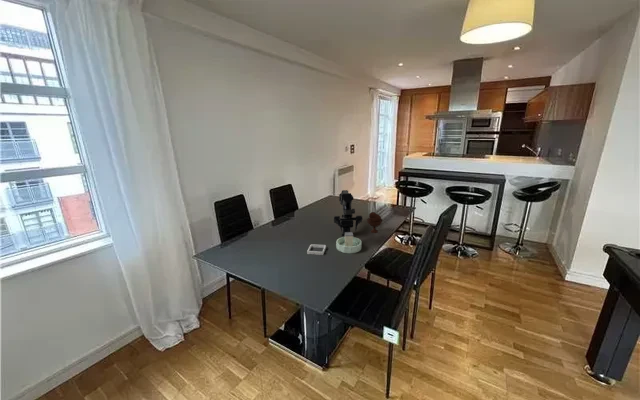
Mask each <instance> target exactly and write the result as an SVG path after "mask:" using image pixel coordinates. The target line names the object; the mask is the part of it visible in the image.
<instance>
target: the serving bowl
mask: <svg viewBox="0 0 640 400" xmlns="http://www.w3.org/2000/svg"><path fill="white" fill-rule="evenodd" d="M335 243H336V244H335V247H336V250H337V251H338V252H341V253H343V254H357V253H359V252H360V251H361V250H362V240H361V239H360V238H358V237H355V236H353V247H345V236H341V237H339V238H338V239H336V242H335Z"/></svg>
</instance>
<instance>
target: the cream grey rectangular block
mask: <svg viewBox="0 0 640 400" xmlns="http://www.w3.org/2000/svg"><path fill="white" fill-rule="evenodd" d="M353 233H354V232H352V231H350V232H345V236H344V237H345V247H353V237H354V234H353Z"/></svg>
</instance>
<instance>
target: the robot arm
mask: <svg viewBox="0 0 640 400" xmlns="http://www.w3.org/2000/svg"><path fill="white" fill-rule="evenodd" d="M338 195H339V196H338V200H339V203H340V205H341V207H342V215H334V216H333V223H334V224H336V225H337V226H338V228H339V230H340V232H342V233H341V237H345V232H351V228H353V227H354V226H355V228H354V230H355V232H357V228H358V225H359V224H361V223H362V222H363V216H362V215H356V216H355V217H353V214H354V215H355V214H356V209H355V208H352V203H353V200H354V196H353V194H352V193H350V192H349V190H348V189H347V190H346V189H345V190H344V189H343V190H341V192H340V193H339V194H338ZM354 221H355V225H354Z"/></svg>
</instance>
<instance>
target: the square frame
mask: <svg viewBox="0 0 640 400" xmlns="http://www.w3.org/2000/svg"><path fill="white" fill-rule="evenodd" d="M312 248H320V249H322V251H316V250H311V249H312ZM326 249H327V245H326V244H310V245H309V246H308V249H307V251H306V253H307V255H319V256H324V255H325V254H324V253H325V251H326Z"/></svg>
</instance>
